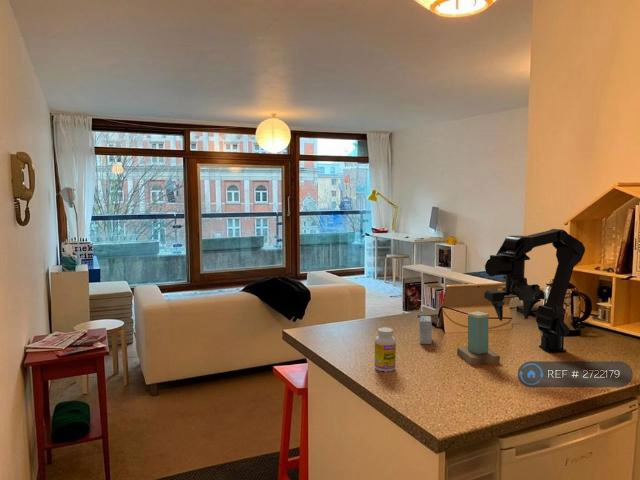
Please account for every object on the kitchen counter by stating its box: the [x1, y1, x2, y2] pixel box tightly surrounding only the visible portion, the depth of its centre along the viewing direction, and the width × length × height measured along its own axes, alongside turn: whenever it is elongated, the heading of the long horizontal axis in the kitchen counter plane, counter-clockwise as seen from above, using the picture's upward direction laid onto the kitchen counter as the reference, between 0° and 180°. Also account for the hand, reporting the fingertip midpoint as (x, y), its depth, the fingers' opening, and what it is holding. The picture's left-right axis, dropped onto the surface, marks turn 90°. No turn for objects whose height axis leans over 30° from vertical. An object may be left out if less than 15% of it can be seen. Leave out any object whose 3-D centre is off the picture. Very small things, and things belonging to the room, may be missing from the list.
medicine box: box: [418, 315, 433, 345], centre depth 176 cm, size 8×4×9 cm, turn 168°
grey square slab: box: [456, 346, 501, 366], centre depth 157 cm, size 10×10×3 cm
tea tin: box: [466, 310, 490, 354], centre depth 157 cm, size 5×5×13 cm
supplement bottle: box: [374, 326, 397, 373], centre depth 149 cm, size 7×7×13 cm
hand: (513, 319), depth 157 cm, fingers open, 9 cm apart
